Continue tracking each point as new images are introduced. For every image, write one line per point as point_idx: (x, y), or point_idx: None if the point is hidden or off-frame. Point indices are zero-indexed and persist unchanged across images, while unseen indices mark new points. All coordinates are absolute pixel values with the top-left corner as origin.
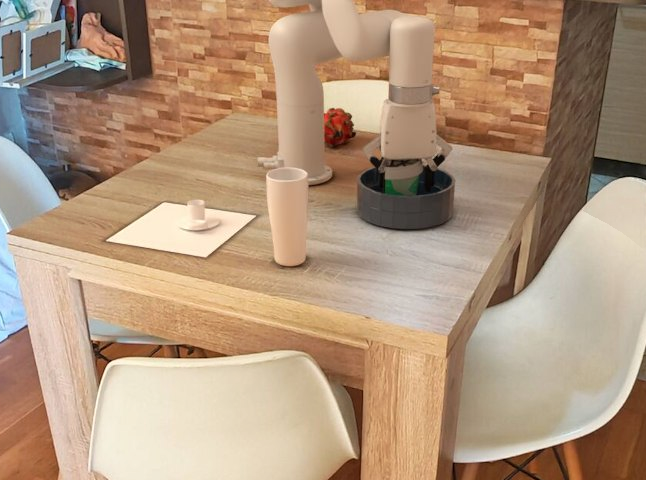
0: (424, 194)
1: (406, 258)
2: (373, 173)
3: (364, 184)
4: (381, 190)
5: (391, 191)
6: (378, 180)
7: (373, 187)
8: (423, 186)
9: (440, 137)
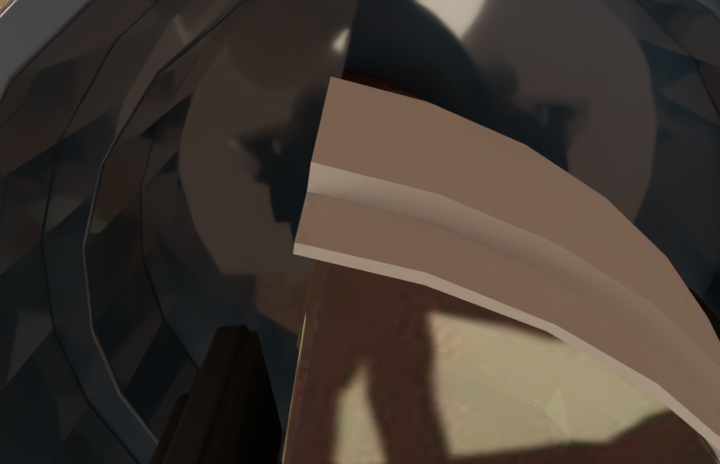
0: (653, 4)
1: None
2: (50, 68)
3: (31, 199)
4: (225, 24)
5: None
6: (168, 422)
7: (135, 120)
8: (681, 1)
9: None
